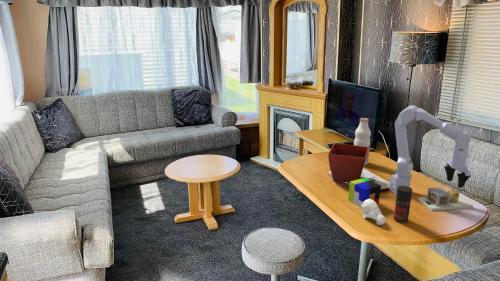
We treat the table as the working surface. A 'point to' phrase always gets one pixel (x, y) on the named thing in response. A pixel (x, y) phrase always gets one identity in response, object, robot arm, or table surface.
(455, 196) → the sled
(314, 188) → the table surface
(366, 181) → the puzzle toy
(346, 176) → the plant pot
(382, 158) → the table surface
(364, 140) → the white bottle
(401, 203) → the deodorant
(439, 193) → the deck tunnel
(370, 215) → the white rounded lumpy piece
